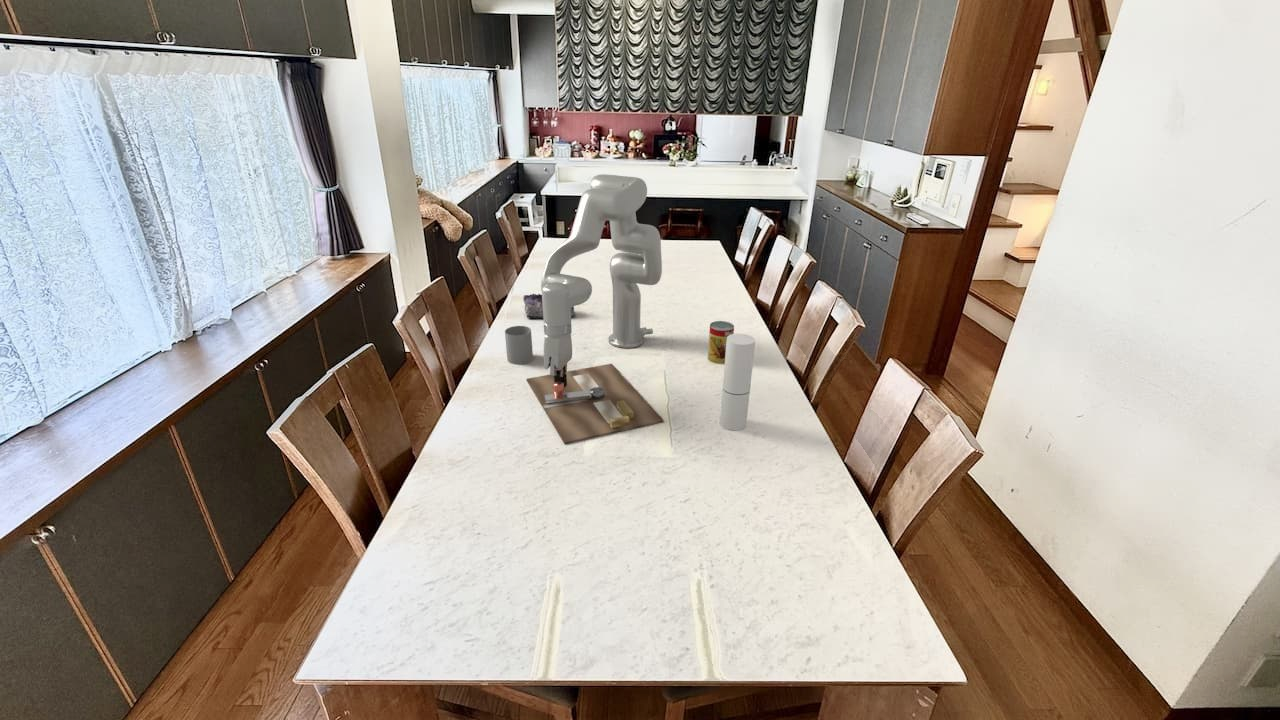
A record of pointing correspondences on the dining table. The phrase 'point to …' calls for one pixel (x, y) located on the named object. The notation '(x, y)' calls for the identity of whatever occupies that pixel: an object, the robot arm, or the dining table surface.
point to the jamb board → (594, 404)
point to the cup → (519, 344)
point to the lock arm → (572, 394)
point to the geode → (537, 306)
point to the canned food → (719, 340)
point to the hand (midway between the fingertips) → (560, 386)
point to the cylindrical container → (737, 381)
